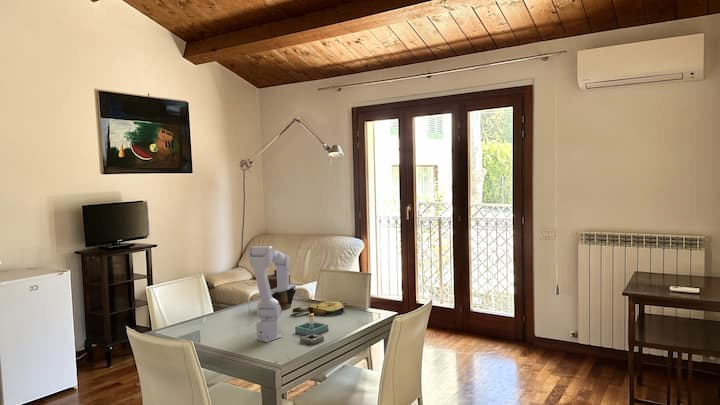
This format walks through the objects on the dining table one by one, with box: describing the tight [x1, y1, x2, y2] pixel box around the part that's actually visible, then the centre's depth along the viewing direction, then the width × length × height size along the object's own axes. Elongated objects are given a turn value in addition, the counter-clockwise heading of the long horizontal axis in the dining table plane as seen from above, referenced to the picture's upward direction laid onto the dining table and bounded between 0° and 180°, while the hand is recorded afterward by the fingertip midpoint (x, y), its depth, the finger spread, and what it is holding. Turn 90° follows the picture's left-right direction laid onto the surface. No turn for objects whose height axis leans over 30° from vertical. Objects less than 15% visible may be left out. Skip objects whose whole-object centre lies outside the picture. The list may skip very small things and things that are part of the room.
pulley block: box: [291, 301, 348, 317], centre depth 266 cm, size 14×6×30 cm
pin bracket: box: [299, 334, 325, 346], centre depth 219 cm, size 8×8×2 cm
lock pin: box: [308, 313, 315, 330], centre depth 233 cm, size 3×3×8 cm
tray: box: [294, 321, 329, 336], centre depth 233 cm, size 11×11×3 cm
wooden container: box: [267, 268, 292, 311], centre depth 280 cm, size 15×15×22 cm
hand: (283, 305), depth 243 cm, fingers open, 7 cm apart
